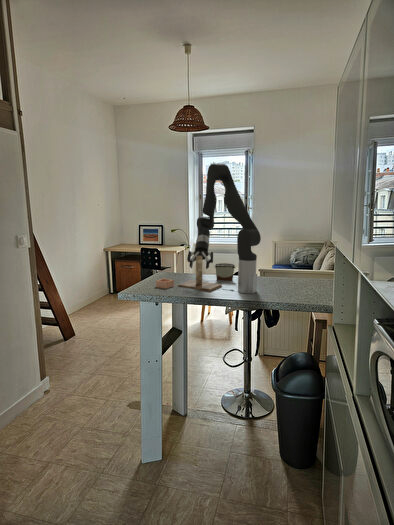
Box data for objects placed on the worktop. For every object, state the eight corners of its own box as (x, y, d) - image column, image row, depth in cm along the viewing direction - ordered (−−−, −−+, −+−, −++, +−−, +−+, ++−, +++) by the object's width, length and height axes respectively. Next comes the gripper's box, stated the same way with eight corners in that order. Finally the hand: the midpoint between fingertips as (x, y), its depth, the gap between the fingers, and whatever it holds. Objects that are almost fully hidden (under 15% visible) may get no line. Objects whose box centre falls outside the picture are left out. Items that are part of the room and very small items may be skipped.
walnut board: (221, 286, 198) (221, 284, 198) (210, 292, 186) (210, 289, 185) (190, 282, 207) (190, 280, 207) (177, 287, 195) (177, 284, 195)
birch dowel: (203, 284, 196) (203, 255, 194) (200, 285, 193) (200, 256, 191) (197, 283, 198) (198, 255, 195) (194, 284, 195) (194, 256, 192)
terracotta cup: (173, 286, 196) (173, 279, 195) (166, 289, 190) (166, 282, 189) (163, 285, 200) (163, 278, 199) (155, 287, 193) (155, 280, 193)
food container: (234, 279, 218) (235, 263, 216) (234, 281, 212) (235, 265, 210) (214, 278, 219) (215, 262, 217) (214, 280, 213) (214, 264, 211)
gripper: (189, 240, 200) (185, 263, 191) (214, 240, 198) (211, 264, 188) (190, 248, 206) (186, 271, 197) (215, 249, 204) (212, 272, 194)
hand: (198, 267), depth 193 cm, fingers open, 8 cm apart
